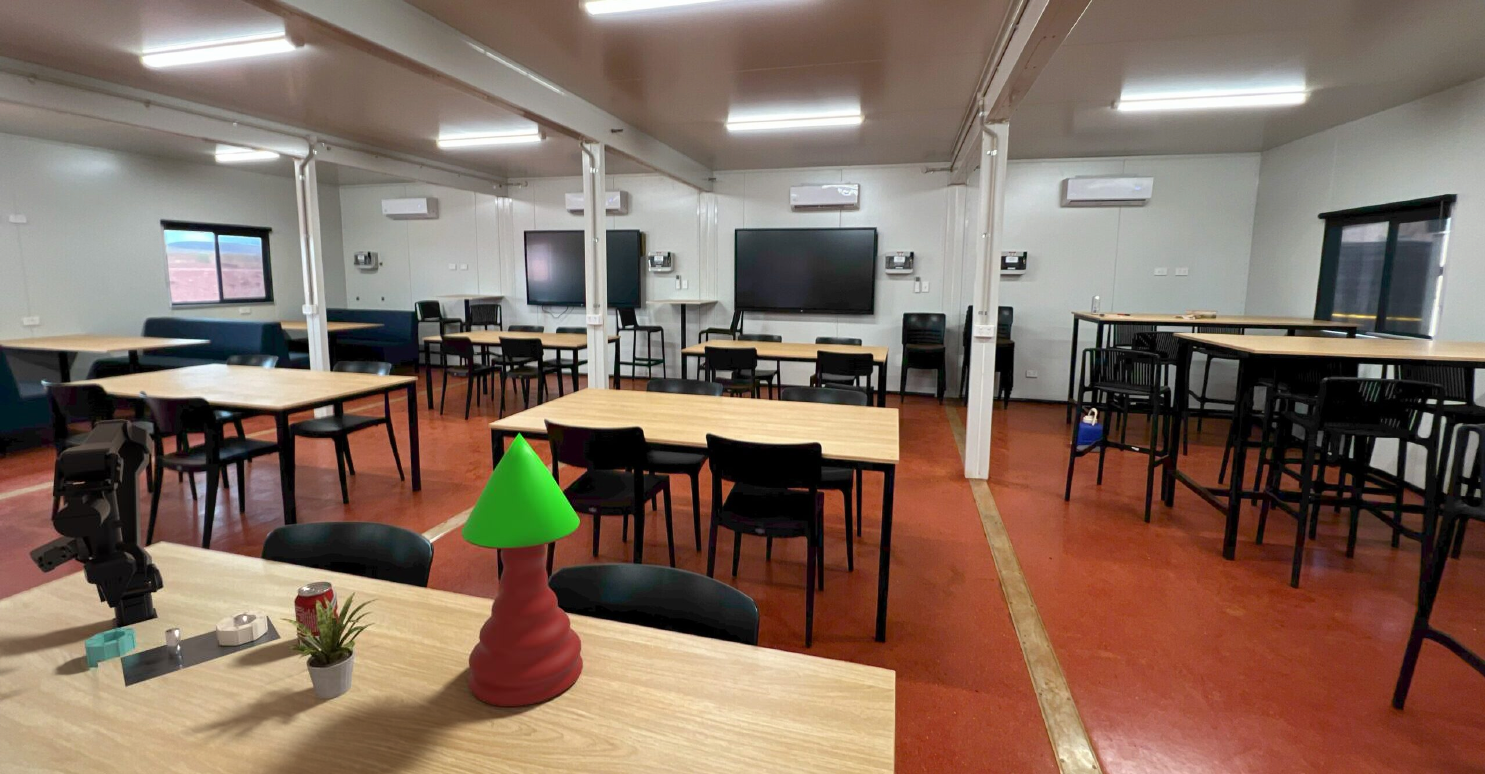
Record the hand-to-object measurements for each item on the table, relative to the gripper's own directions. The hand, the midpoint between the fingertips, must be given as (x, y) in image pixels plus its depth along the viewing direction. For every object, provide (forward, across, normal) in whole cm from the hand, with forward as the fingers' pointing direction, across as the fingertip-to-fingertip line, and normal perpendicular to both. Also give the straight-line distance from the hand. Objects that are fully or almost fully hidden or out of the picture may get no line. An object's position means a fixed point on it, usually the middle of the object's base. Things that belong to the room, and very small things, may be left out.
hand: (108, 598), depth 119 cm
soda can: (+12, +24, +25) cm, 37 cm away
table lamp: (+11, +62, +46) cm, 78 cm away
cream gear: (+10, +11, +16) cm, 22 cm away
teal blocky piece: (+12, -1, 0) cm, 12 cm away
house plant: (+11, +42, +22) cm, 49 cm away
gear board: (+12, +10, +10) cm, 19 cm away
